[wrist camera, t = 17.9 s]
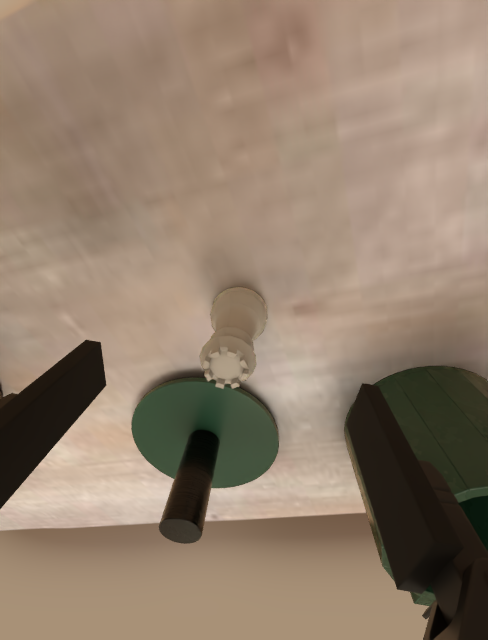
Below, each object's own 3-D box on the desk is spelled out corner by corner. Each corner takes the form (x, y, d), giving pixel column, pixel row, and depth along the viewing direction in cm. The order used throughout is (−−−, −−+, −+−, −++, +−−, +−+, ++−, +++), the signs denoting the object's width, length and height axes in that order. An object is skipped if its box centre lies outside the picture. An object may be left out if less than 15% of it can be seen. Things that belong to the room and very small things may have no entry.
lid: (140, 466, 32) (94, 564, 23) (132, 362, 25) (64, 446, 17) (266, 487, 31) (264, 594, 23) (291, 386, 25) (301, 485, 16)
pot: (322, 478, 30) (344, 603, 21) (381, 325, 21) (461, 424, 12) (447, 498, 29) (525, 634, 20) (557, 351, 21) (770, 471, 12)
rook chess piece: (205, 292, 21) (172, 344, 14) (260, 278, 21) (254, 326, 13) (222, 340, 23) (201, 407, 16) (273, 329, 22) (275, 395, 15)
